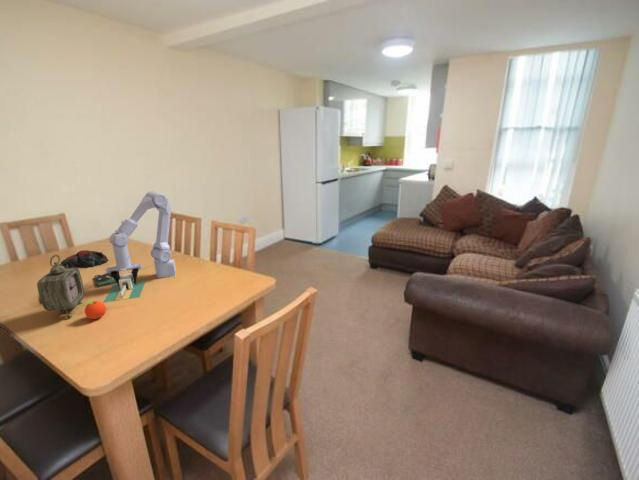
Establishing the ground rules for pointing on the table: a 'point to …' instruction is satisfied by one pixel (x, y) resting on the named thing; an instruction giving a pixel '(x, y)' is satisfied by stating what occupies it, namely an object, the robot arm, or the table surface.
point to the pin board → (124, 292)
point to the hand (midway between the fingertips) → (127, 284)
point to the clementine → (95, 310)
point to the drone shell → (85, 259)
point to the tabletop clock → (61, 288)
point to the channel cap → (125, 279)
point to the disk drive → (104, 279)
